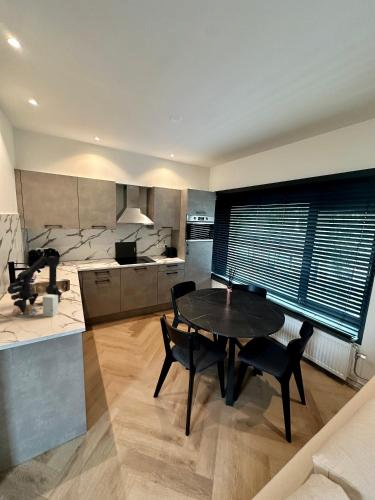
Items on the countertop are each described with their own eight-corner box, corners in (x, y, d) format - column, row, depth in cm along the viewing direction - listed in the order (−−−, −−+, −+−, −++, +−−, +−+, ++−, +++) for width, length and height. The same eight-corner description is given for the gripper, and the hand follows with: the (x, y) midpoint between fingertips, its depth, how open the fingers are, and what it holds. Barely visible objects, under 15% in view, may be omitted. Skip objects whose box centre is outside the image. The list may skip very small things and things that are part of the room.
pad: (38, 311, 159) (38, 310, 158) (30, 317, 150) (30, 316, 150) (25, 312, 157) (25, 311, 157) (17, 317, 149) (17, 316, 149)
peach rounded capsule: (25, 310, 160) (25, 305, 160) (22, 312, 156) (22, 307, 156) (20, 310, 160) (19, 305, 159) (16, 313, 156) (16, 307, 155)
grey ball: (38, 309, 162) (37, 306, 161) (35, 311, 159) (35, 307, 158) (33, 310, 161) (33, 306, 161) (31, 311, 158) (31, 308, 158)
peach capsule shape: (21, 313, 155) (21, 308, 155) (17, 315, 151) (17, 310, 151) (15, 313, 155) (15, 308, 154) (11, 316, 151) (11, 310, 150)
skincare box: (42, 316, 152) (41, 296, 150) (48, 312, 158) (47, 293, 156) (53, 317, 151) (52, 297, 149) (59, 313, 157) (58, 294, 155)
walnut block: (26, 312, 155) (26, 304, 154) (32, 312, 156) (31, 304, 155) (23, 314, 151) (22, 307, 150) (29, 314, 152) (28, 307, 151)
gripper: (22, 285, 159) (24, 304, 161) (4, 294, 141) (6, 316, 143) (38, 285, 160) (39, 304, 163) (21, 294, 142) (23, 315, 144)
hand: (27, 309), depth 153 cm, fingers open, 9 cm apart
